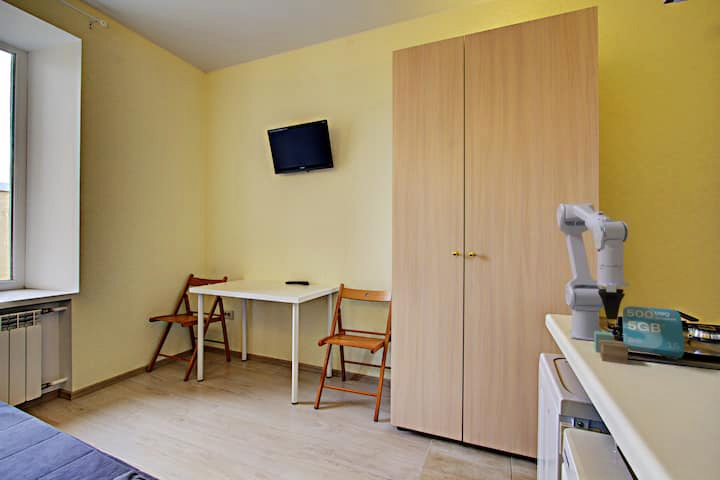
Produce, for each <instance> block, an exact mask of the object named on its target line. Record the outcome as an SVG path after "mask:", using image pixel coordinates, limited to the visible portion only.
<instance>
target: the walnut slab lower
mask: <svg viewBox="0 0 720 480" xmlns="http://www.w3.org/2000/svg"><path fill="white" fill-rule="evenodd" d="M599 354H600V357H601V361H602V362H607V363H615V364H620V365H621V364H623V365H628V356H623V355H613V354H603V352H602V351H601V350H600V353H599Z"/></svg>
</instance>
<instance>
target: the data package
mask: <svg viewBox="0 0 720 480" xmlns="http://www.w3.org/2000/svg"><path fill="white" fill-rule="evenodd" d="M622 338H623V341H622V342H623V343H624V344H625V345H626V346H628V349H630V350H637V351H641V352H649V353H655V354H659V355H662V356H666V357H673V358H680V359H681V357H682V358H683V356H684V353H685V349H686V344H685V338H684V329H683V323H682V315H681V313H680V312H679V311H677V310H675V309H669V308H658V307H657V308H655V307H646V306H632V305H628V306H625V307H624V308H623V309H622Z"/></svg>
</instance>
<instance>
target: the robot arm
mask: <svg viewBox="0 0 720 480" xmlns="http://www.w3.org/2000/svg"><path fill="white" fill-rule="evenodd" d="M556 220H557V226H558V229H559V230H560V232H562V233H564V237H565V242H566V247H567V253H568V258H569V263H570V269H571V273H572V278H573V279H571V280H569V281H568V282H567V283H566V285H565V287H564V290H565V293H564V297H565V302H566V304H567V306H568V307H569V308H571V330H570V331H569V333H570V338H571V339H575V340H585V341H594V331H600V311H602V309H604V313H605V314H604V315H605V318H606V319H607V320H613V321H614V320H615V321H616V320H618V317H619V313H620V306H621V303H622V301H623V298H624V297H625V295H626V293H624V289H623V287H630V286H631V284H630V282H625V267H624V266H625V263H624V262H625V258H624V243H625V242H626V241H627V239H628V236H629V228H628V225H627V223H626V222H625V221H623V220H619V221H618V220H617V221H615V220H613V219H612V218H611V217H609V216H607V215H606V214H605V213H604V211H595V207H594V204H592V203H591V202H587V203H559V205H558V206H557V209H556ZM586 231H590V232H591V233H592V238H593V241H594V247H595V249H596V251H597V280H596V279H594V278H593V277H592V276H591V272H590V267H589V262H588V256H587V253H586V252H587V251H586V248H585V242H584V237H583V233H585V232H586ZM603 287H604V288H603ZM620 287H622V288H620Z"/></svg>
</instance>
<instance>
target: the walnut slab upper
mask: <svg viewBox="0 0 720 480" xmlns="http://www.w3.org/2000/svg"><path fill="white" fill-rule="evenodd" d="M599 349H600V350H601V351H602V352H603V354H613V355H623V356H627V357H628V356H629V355H628V354H629V352H628V346H626V345H625V344H624V342H623V341H619V340H614V341H610V340H599Z"/></svg>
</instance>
